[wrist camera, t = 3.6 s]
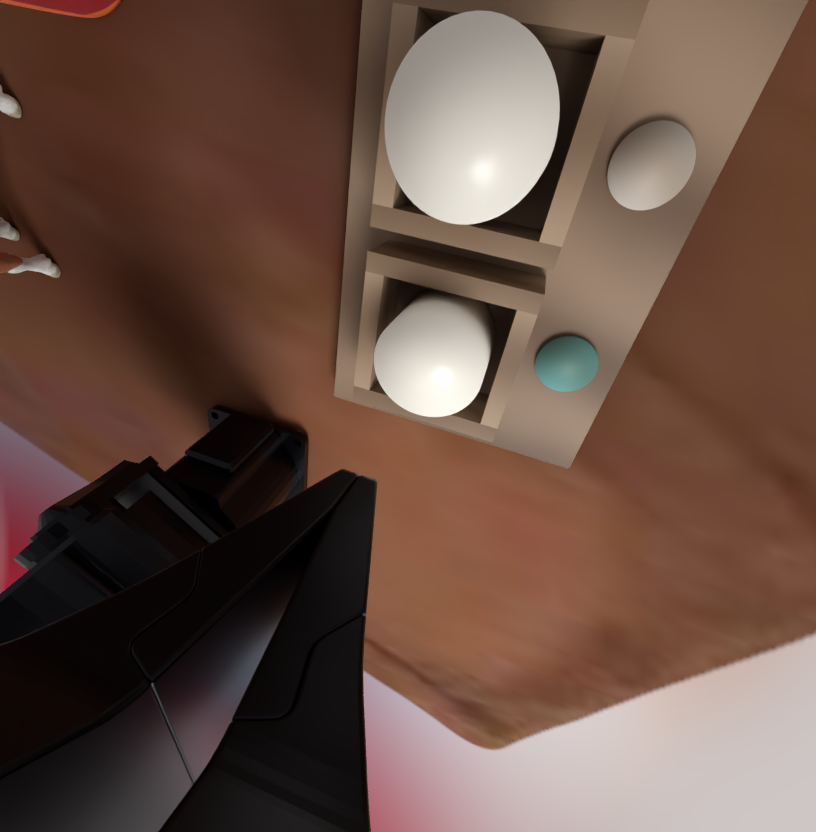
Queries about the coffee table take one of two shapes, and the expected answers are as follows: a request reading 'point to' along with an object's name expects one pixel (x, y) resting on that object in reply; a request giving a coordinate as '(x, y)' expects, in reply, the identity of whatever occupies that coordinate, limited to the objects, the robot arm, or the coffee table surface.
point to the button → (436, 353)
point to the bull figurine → (4, 229)
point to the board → (555, 202)
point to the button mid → (472, 117)
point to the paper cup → (70, 6)
